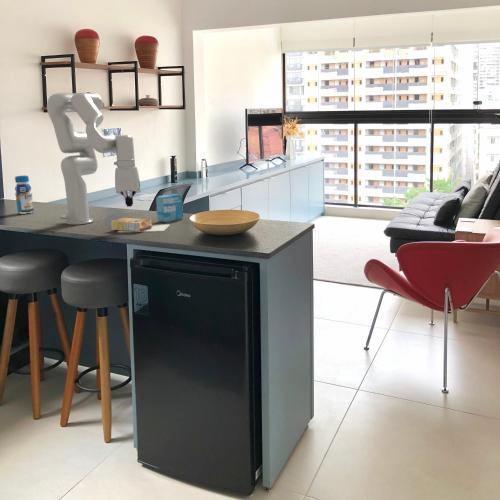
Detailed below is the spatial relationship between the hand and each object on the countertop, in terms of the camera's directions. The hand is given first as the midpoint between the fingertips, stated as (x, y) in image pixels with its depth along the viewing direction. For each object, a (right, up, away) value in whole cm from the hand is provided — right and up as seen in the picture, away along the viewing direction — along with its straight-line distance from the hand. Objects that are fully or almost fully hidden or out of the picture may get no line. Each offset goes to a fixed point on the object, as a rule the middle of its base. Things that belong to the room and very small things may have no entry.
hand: (129, 206), depth 260 cm
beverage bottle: (-68, 0, +58) cm, 89 cm away
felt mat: (+6, -10, +1) cm, 12 cm away
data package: (+15, -6, +20) cm, 26 cm away
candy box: (-6, -8, +2) cm, 10 cm away
